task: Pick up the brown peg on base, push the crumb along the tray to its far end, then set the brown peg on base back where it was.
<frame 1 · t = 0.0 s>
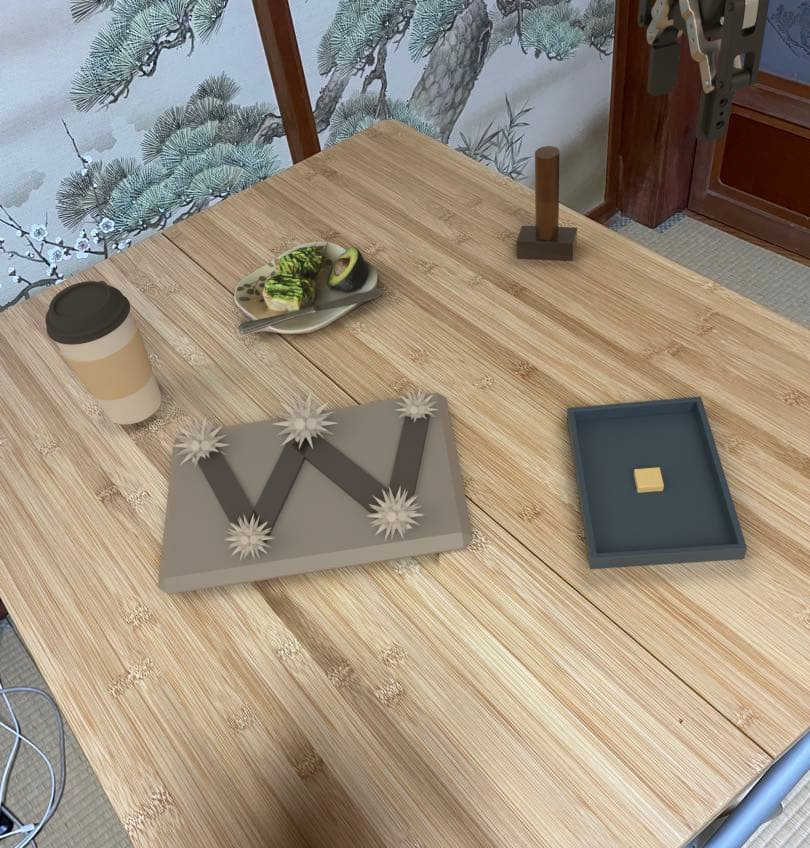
hand: (684, 114, 66), 29 cm above the table, tool pointing down, fingers open, 8 cm apart
tray: (647, 489, 80), on the table
constellation board: (315, 496, 85), on the table
crumb: (648, 482, 79), point 1 cm above the table, touching tray
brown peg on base: (546, 251, 106), on the table
avocado toast plate: (313, 296, 107), on the table
coffee cup: (134, 405, 98), on the table
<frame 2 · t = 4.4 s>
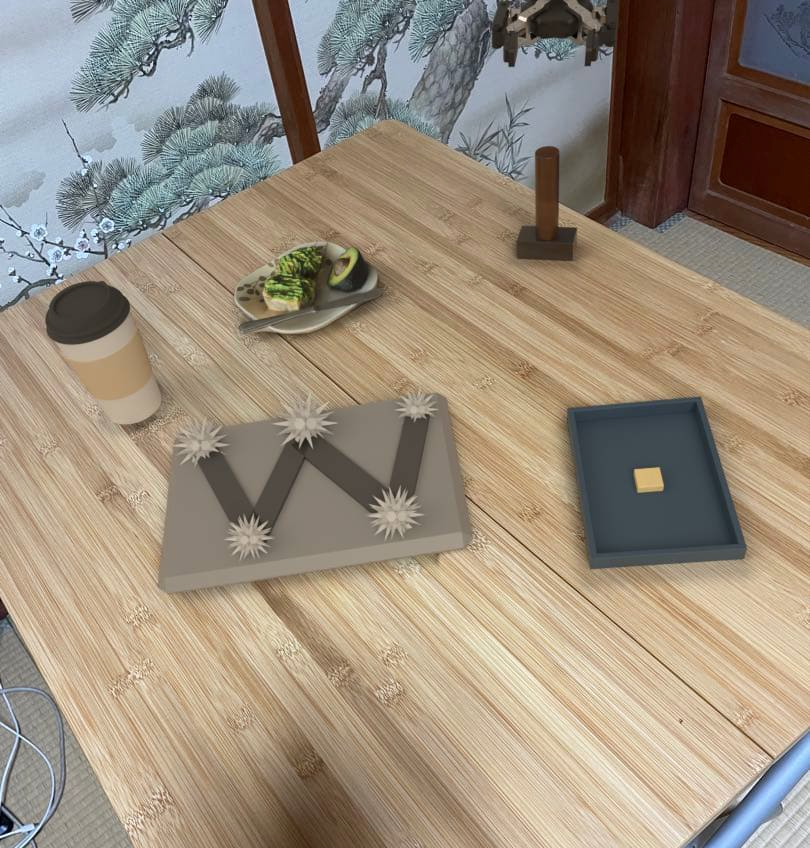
hand: (549, 58, 93), 21 cm above the table, tool horizontal, fingers open, 8 cm apart
nothing on the table moved.
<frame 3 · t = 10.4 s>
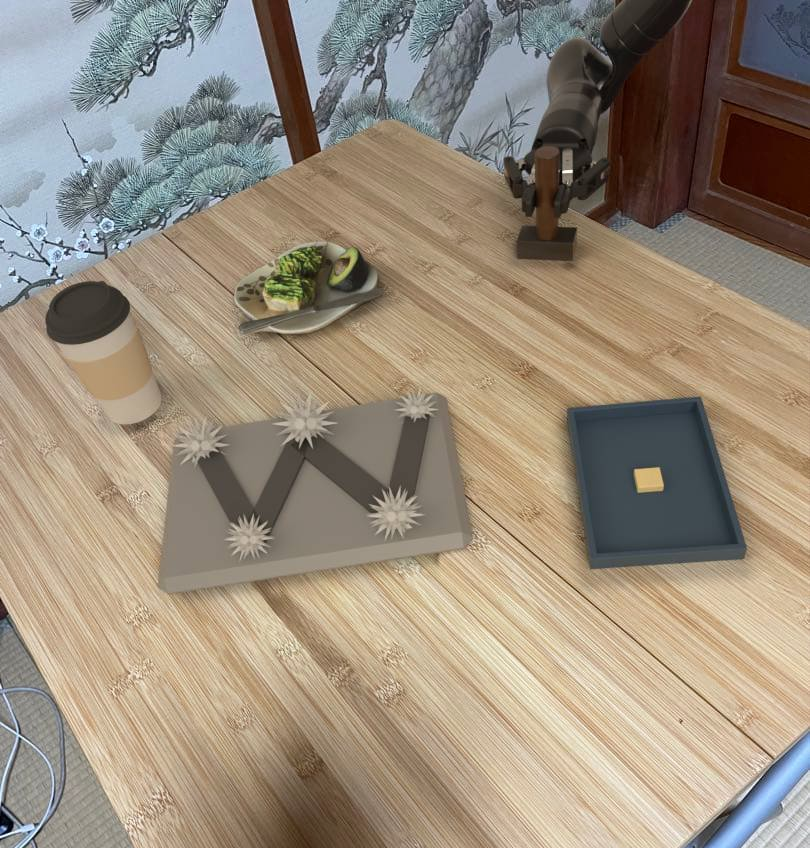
hand: (543, 210, 98), 8 cm above the table, tool horizontal, fingers closed on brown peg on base, 3 cm apart
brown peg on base: (546, 251, 106), on the table, touching gripper
everything else where it was.
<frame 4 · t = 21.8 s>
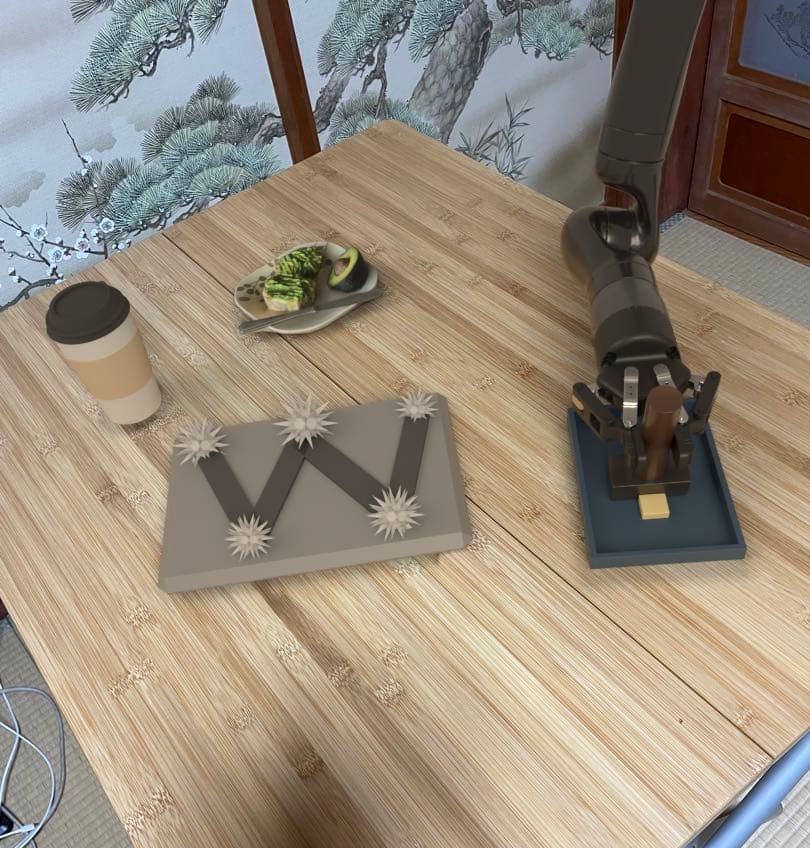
hand: (662, 465, 71), 9 cm above the table, tool horizontal, fingers closed on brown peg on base, 3 cm apart
crumb: (653, 509, 77), point 1 cm above the table, touching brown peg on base
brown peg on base: (645, 482, 79), point 1 cm above the table, tilted 10°, touching crumb, gripper
everything else where it was.
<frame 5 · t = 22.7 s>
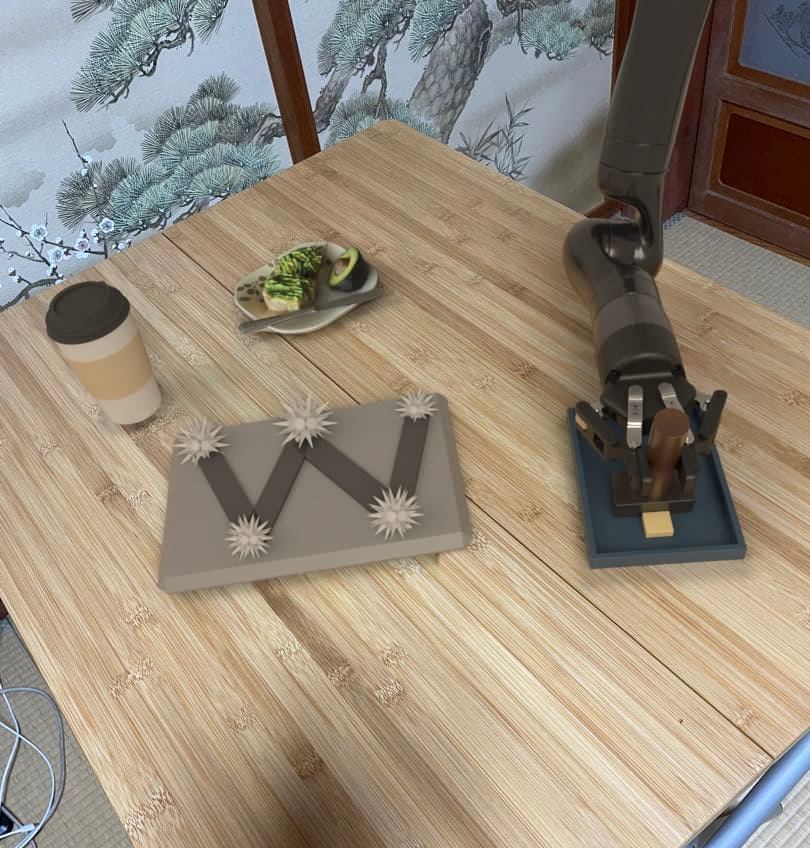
hand: (667, 487, 69), 8 cm above the table, tool horizontal, fingers closed on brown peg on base, 3 cm apart
crumb: (657, 527, 76), point 1 cm above the table, touching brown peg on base, tray
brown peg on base: (649, 498, 77), point 1 cm above the table, tilted 13°, touching crumb, gripper
everything else where it was.
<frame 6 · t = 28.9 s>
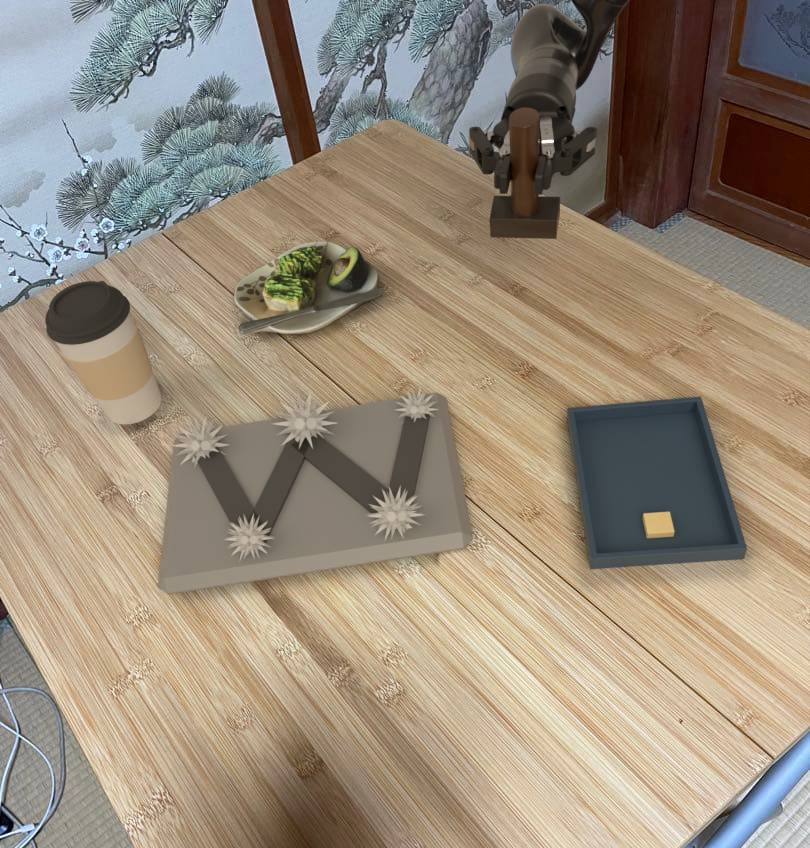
hand: (521, 184, 81), 19 cm above the table, tool horizontal, fingers closed on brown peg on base, 3 cm apart
crumb: (657, 527, 76), point 1 cm above the table, touching tray
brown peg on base: (525, 226, 89), point 12 cm above the table, tilted 11°, touching gripper
everything else where it was.
when the fingers open (7 cm above the table, at t = 34.4 s): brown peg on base stays where it is, on the table.
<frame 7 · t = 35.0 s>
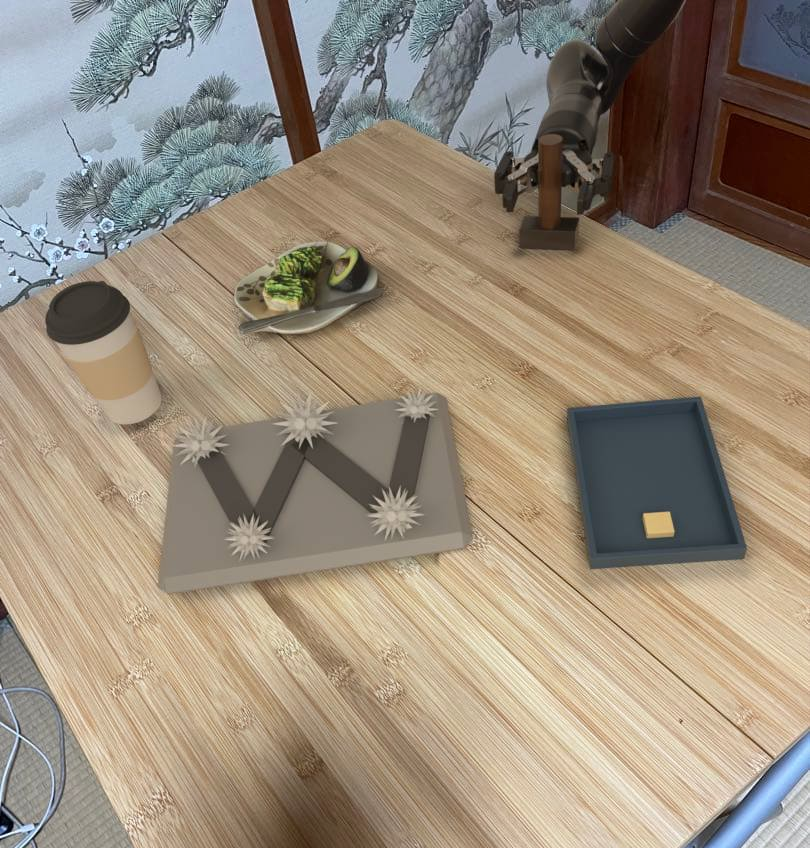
hand: (544, 206, 99), 7 cm above the table, tool horizontal, fingers open, 8 cm apart
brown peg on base: (549, 241, 107), on the table
everything else where it was.
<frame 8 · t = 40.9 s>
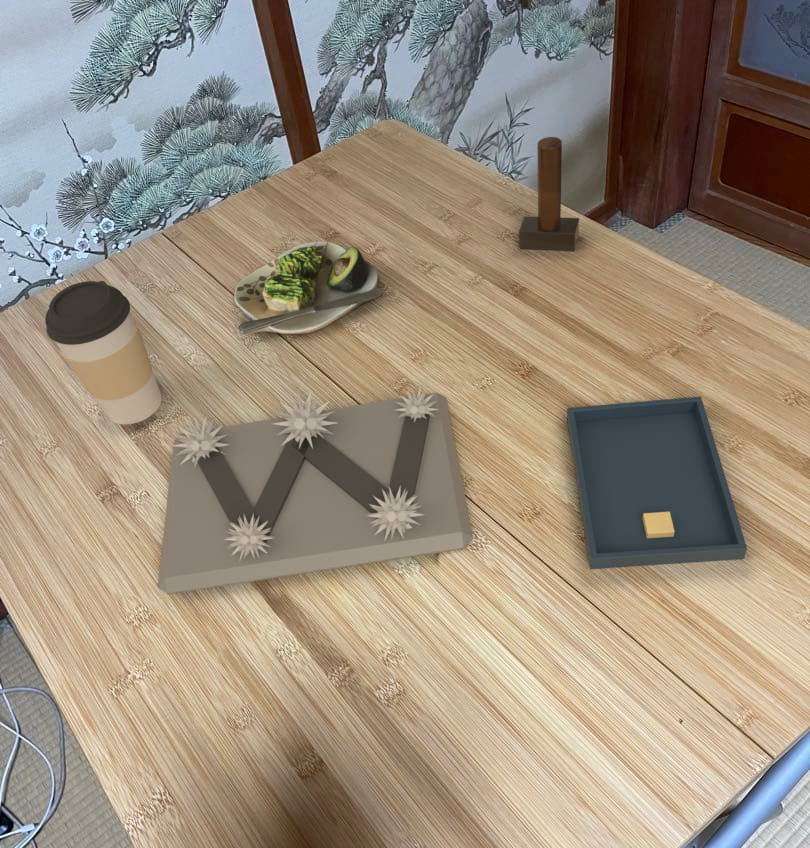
nothing on the table moved.
at the end: crumb 0.6 cm from the target spot in the tray, point 1.0 cm above the tray's base; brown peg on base tilted 0°; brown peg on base inside the target area (2.1 cm from its centre), on the table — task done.
